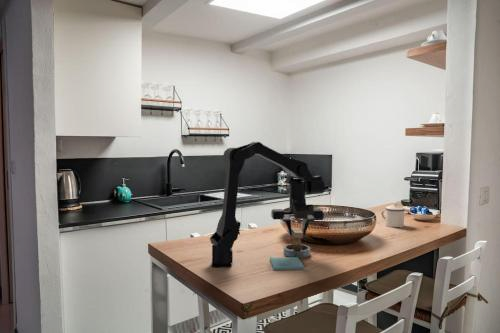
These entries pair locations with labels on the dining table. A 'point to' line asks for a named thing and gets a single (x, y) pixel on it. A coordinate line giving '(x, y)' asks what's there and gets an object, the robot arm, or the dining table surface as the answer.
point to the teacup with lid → (394, 215)
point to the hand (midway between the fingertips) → (296, 236)
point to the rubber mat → (286, 263)
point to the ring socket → (299, 254)
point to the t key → (297, 239)
